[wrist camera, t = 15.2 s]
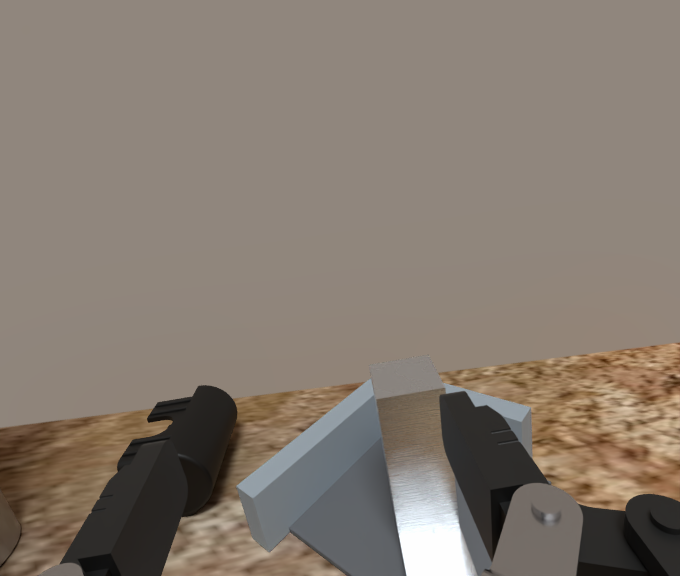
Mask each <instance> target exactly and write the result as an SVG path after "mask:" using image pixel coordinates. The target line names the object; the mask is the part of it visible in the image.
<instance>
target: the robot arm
mask: <svg viewBox="0 0 680 576" xmlns="http://www.w3.org/2000/svg"><path fill="white" fill-rule="evenodd" d="M439 405H440V417H441V429H442V439H443V445H444V449H445V453H446V456H447V459H448V461H449V463H450V466H451V468H452V470H453V473H454V475H455V477H456V480H457V482H458V484H459V487H460V489H461V491H462V494H463V496H464V498H465V501H466V503H467V505H468V508H469V510H470V513H471V515H472V517H473V520H474V522H475V524H476V527H477V529H478V531H479V534H480V536H481V538H482V541H483V543H484V545H485V548H486V550H487V552H488V555H489V557H490V559H491V562H492V565H491V567H490V569H489V570H488V569H484V571H483V572H482V574H481V576H680V502H679V501H676V500H674V499H671V498H668V497H665V496H661V495H655V494H643V495H638V496H635V497H633V498H632V499H630V500H629V502H628V503H627V505H626V510H625V511H618V510H609V509H600V508H593V507H587V506H584V505H580V504H578V503H577V502H576V501H575V500H574V499H573V497H571V496H570V495H569V494H568V493H566V492H565V491H563V490H561V489H559V488H557V487H555V486H552V485H550V484H549V483H548V481H547V480H546V478H545V477H544V475H543V474H542V472H541V471H540V470H539V468H538V467H537V465H536V464H535V462H534V461H533V459H532V458H531V457H530V455H529V454H528V452H527V451H526V449H525V448H524V446H523V445H522V444H521V442H519V440H518V438H517V436H516V435H515V433H514V432H513V431H511V428H510V426H509V425H508V423H507V422H506V420H505V419H504V418H503V416H502V415H501V414H499V413H498V412H496V411H495V410H494V409H492V408H491V407H489V406H488V405H484V406H478V407H475V405H474V404H473V402H472V401H471V399H470V397H469V396H468V394H467V393H466V392H465V391H460V392H454V393H448V394H442V395H440V396H439ZM187 496H188V485H187V479H186V476H185V474H184V471H183V468H182V465H181V463H180V460H179V457H178V454H177V452H176V449H175V446H174V444H173V442H172V441H171V440H165V441H159V442H153V443H147V444H143V445H142V446H141V447H140V448H139V450H138V452H137V454H136V455H135V457H134V459H133V461H132V462H131V464H130V465H125V466H124V467H123V468H122V469H121V470H120V471H118V472H117V473H116V474H115V475H114V476H113V477H112V478H111V479H110V480H109V482H108V483H107V485H106V487H105V488H104V490H103V492H102V494H101V495H100V499H99V500H97V502H96V504H95V505H94V507H93V509H92V510H91V511H92V513H91V514H89V515H88V517H87V519H86V520H85V522H84V524H83V525H82V527H81V529H80V531H79V532H78V534H77V536H76V537H75V539H74V541H73V542H72V544H71V546H70V547H69V549H68V551H67V552H66V554H65V556H64V557H63V559H62V561H61V562H60V564H59V565H57V566H54V567H52V568H50V569H48V570H46V571H44V572H43V573H41V574H40V575H38V576H161V574H162V571H163V568H164V566H165V563H166V560H167V557H168V554H169V551H170V548H171V545H172V542H173V540H174V537H175V534H176V531H177V528H178V525H179V522H180V519H181V516H182V514H183V511H184V508H185V505H186V502H187ZM20 531H21V526H20V524H19V522H18V520H17V518H16V517H15V515H14V513H13V511H12V509H11V507H10V506H9V504H8V502H7V500H6V498H5V496H4V494H3V493H2V491H1V488H0V566H1V565H2V563H3V562H4V561H5V560H6V559H7V557H8V556H9V555H10V554H11V552H12V550H13V549H14V547H15V546H16V544H17V542H18V539H19V536H20Z"/></svg>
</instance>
